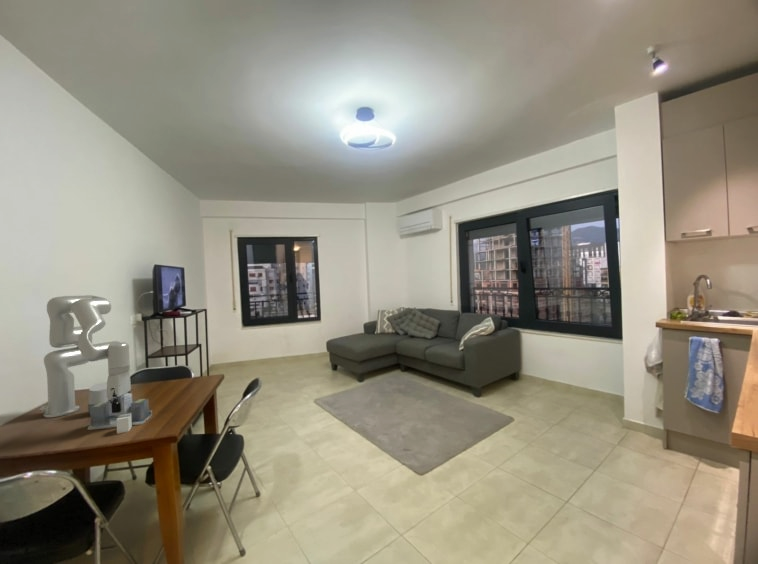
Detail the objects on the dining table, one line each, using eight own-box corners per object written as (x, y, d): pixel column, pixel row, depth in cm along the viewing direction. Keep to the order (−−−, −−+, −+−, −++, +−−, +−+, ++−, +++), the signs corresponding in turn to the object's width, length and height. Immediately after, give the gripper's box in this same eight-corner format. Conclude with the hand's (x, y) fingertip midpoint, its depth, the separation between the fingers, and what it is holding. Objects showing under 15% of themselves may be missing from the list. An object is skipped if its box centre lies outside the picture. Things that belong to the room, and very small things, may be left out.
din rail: (87, 430, 137) (86, 408, 137) (101, 421, 145) (100, 400, 145) (142, 424, 141) (141, 403, 141) (152, 415, 150) (151, 396, 150)
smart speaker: (84, 417, 150) (84, 388, 150) (92, 410, 158) (91, 383, 158) (109, 413, 154) (109, 385, 154) (116, 407, 162) (115, 380, 162)
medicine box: (133, 411, 145) (132, 393, 145) (124, 415, 140) (124, 396, 140) (116, 412, 145) (116, 393, 145) (108, 416, 140) (107, 396, 141)
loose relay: (116, 433, 132) (116, 419, 132) (120, 429, 137) (119, 414, 137) (128, 431, 134) (128, 416, 134) (131, 426, 139) (131, 412, 139)
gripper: (121, 366, 150) (122, 403, 150) (96, 376, 133) (98, 418, 133) (138, 364, 152) (140, 402, 152) (116, 374, 135) (118, 416, 135)
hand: (120, 409), depth 143 cm, fingers closed on medicine box, 5 cm apart
